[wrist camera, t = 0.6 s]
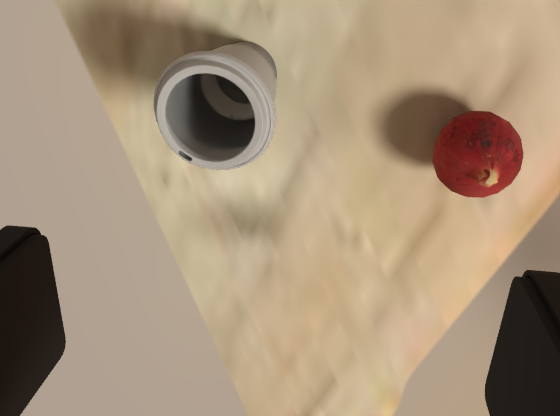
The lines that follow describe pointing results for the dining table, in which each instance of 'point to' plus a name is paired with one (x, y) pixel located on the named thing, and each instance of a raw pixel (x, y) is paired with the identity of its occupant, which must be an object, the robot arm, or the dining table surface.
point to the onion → (477, 154)
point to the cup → (218, 105)
